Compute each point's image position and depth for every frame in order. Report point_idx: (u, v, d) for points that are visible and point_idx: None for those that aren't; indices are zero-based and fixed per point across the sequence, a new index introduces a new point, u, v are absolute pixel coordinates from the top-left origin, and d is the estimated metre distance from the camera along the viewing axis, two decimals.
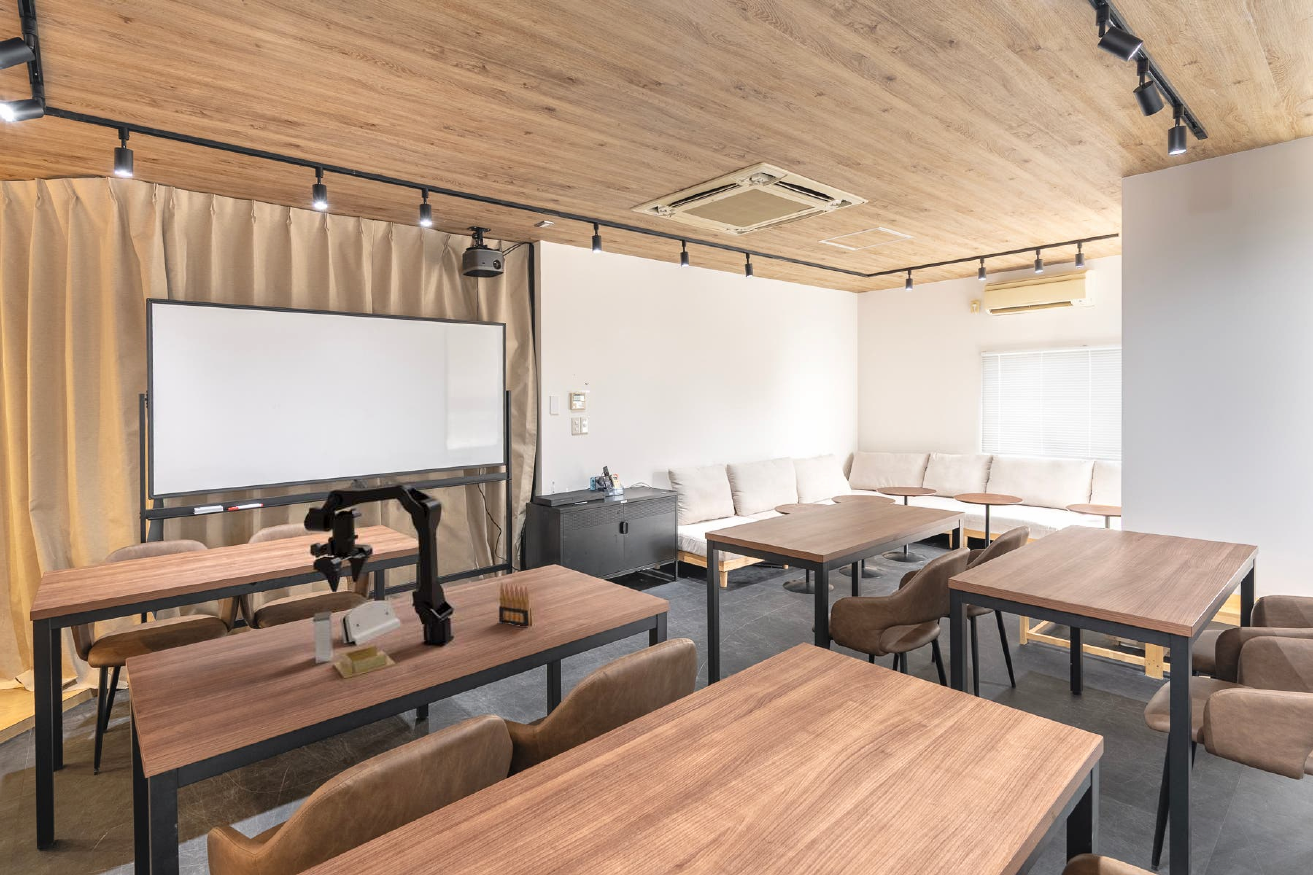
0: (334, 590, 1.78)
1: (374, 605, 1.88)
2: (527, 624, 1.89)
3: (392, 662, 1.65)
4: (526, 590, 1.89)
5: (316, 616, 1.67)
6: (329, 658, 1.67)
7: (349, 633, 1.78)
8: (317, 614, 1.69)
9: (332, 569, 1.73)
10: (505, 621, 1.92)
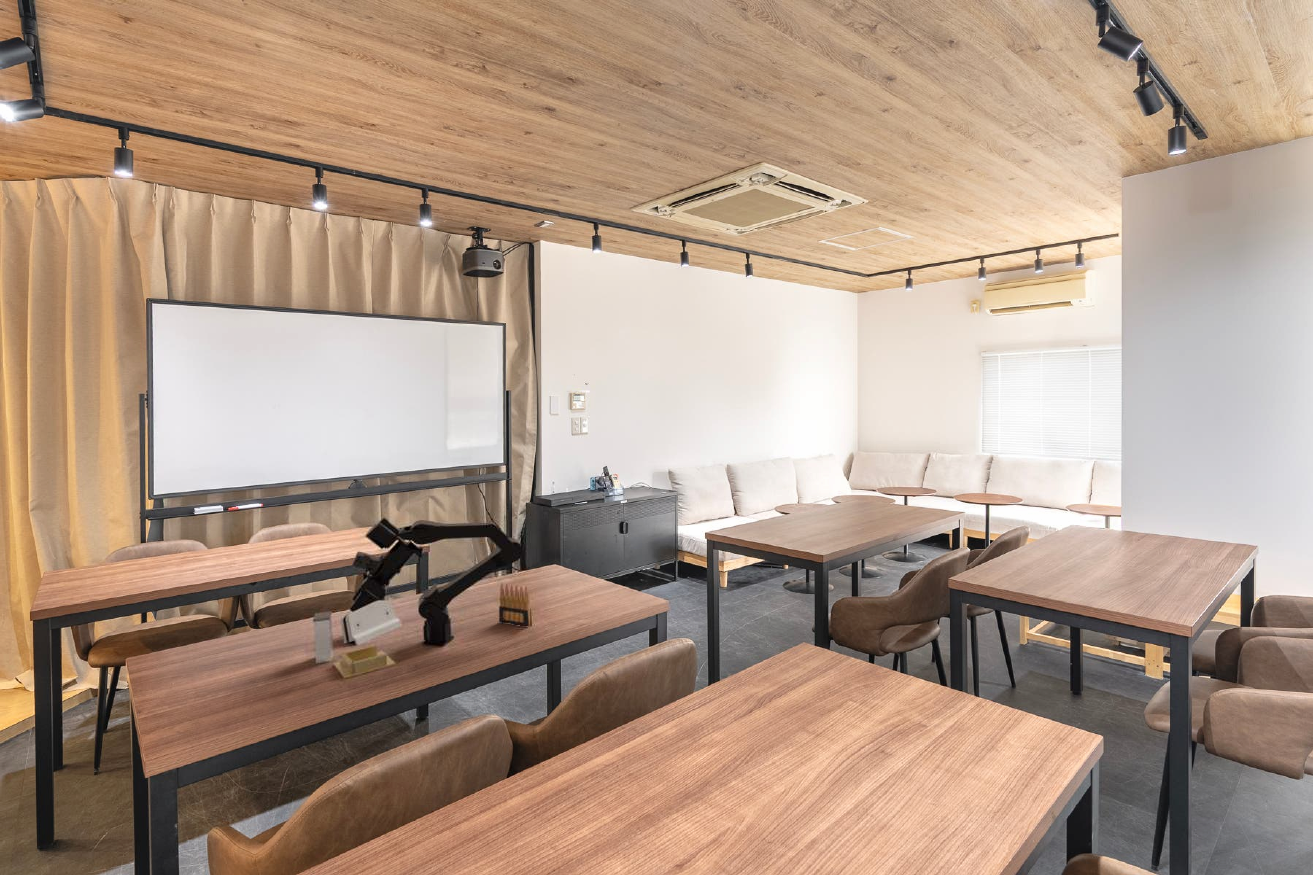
0: (353, 610, 1.66)
1: (374, 605, 1.88)
2: (527, 624, 1.89)
3: (392, 662, 1.65)
4: (526, 590, 1.89)
5: (316, 616, 1.67)
6: (329, 658, 1.67)
7: (349, 633, 1.79)
8: (317, 614, 1.69)
9: (381, 598, 1.65)
10: (505, 621, 1.92)
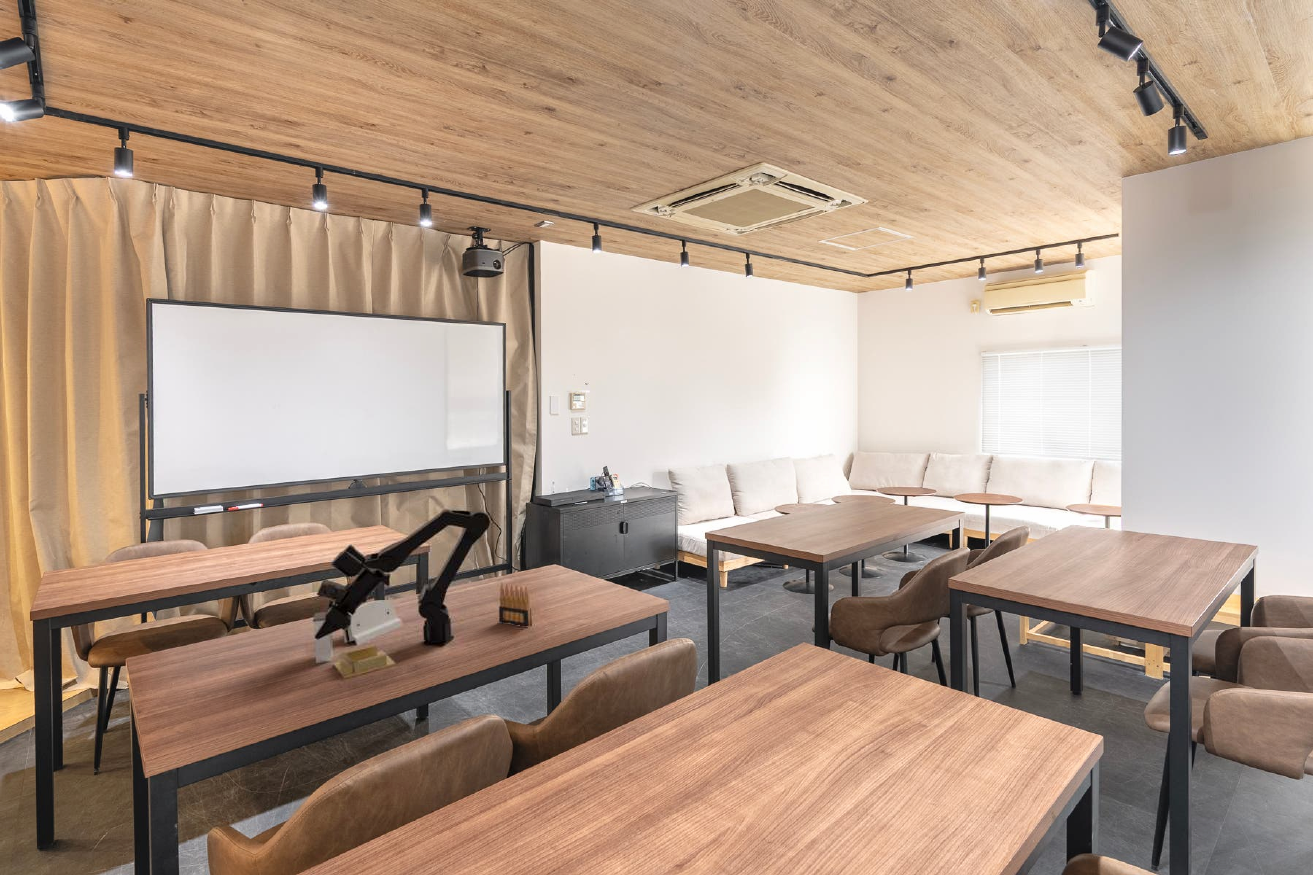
0: (318, 637, 1.65)
1: (375, 605, 1.88)
2: (527, 624, 1.89)
3: (392, 662, 1.65)
4: (526, 590, 1.89)
5: (316, 616, 1.67)
6: (329, 658, 1.67)
7: (350, 632, 1.79)
8: (317, 614, 1.69)
9: (345, 629, 1.62)
10: (505, 621, 1.92)
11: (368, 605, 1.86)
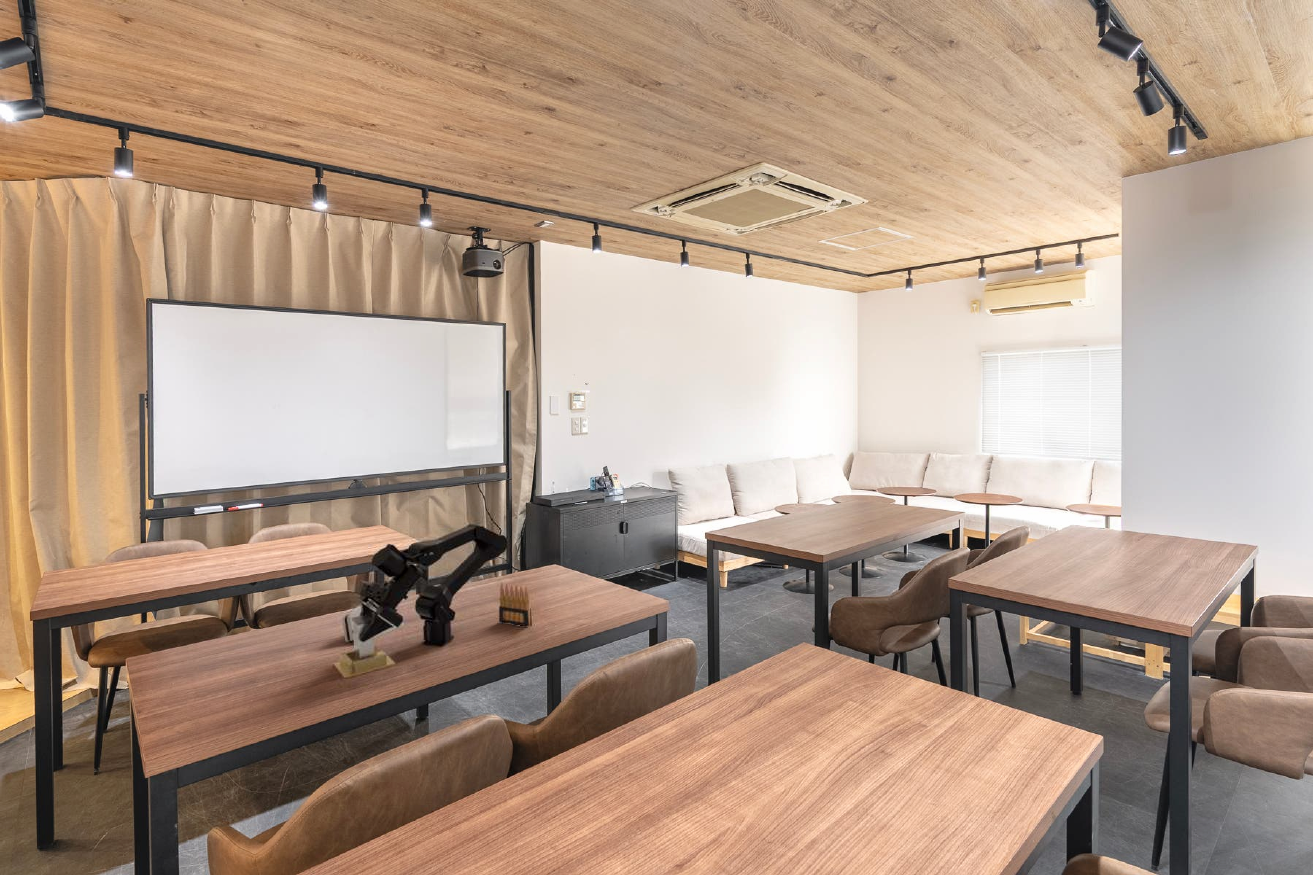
0: (364, 640, 1.60)
1: None
2: (527, 624, 1.89)
3: (392, 662, 1.65)
4: (526, 590, 1.89)
5: (357, 620, 1.63)
6: None
7: (350, 632, 1.79)
8: (355, 618, 1.64)
9: (398, 626, 1.61)
10: (505, 621, 1.92)
11: None
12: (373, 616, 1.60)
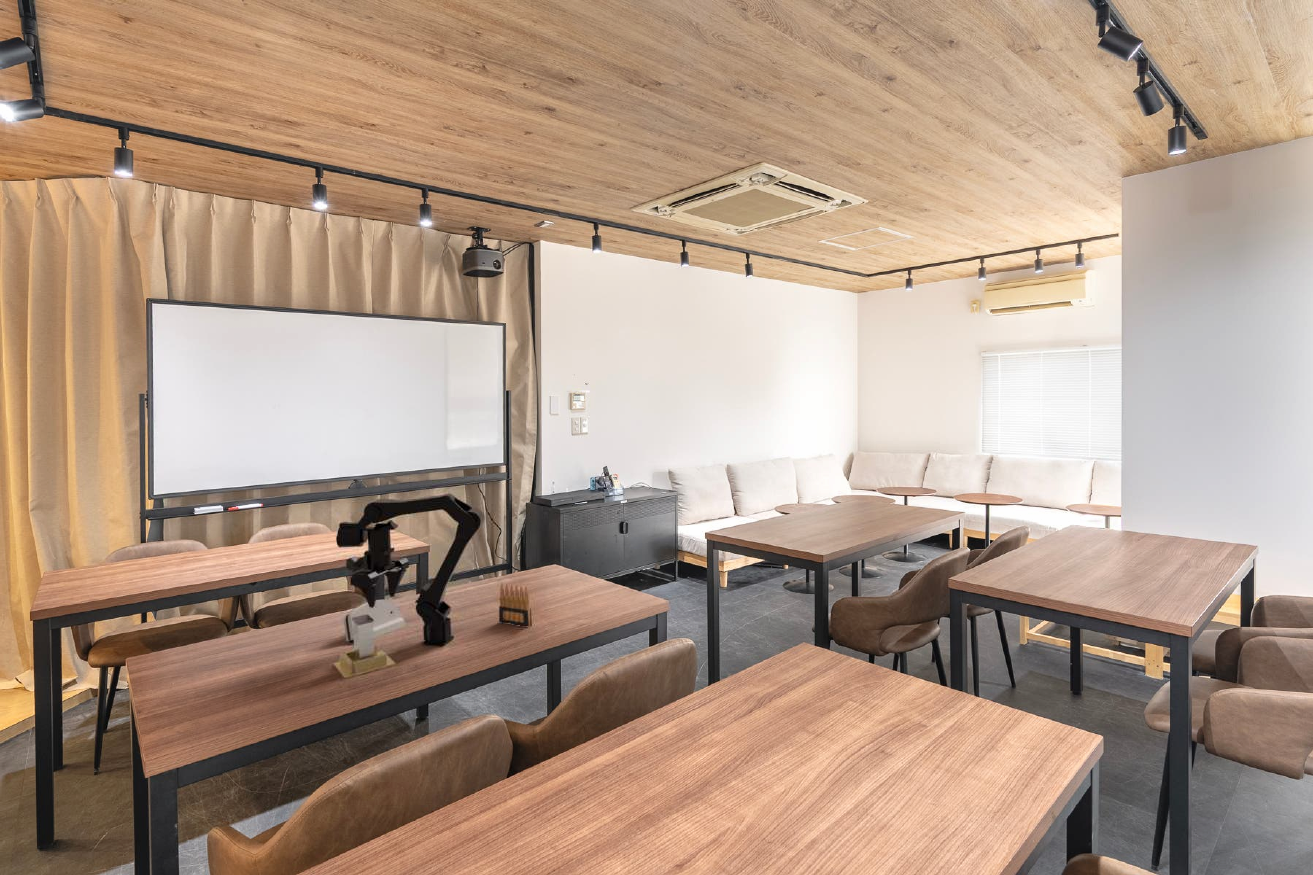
0: (371, 605, 1.72)
1: (378, 604, 1.88)
2: (527, 624, 1.89)
3: (392, 662, 1.65)
4: (526, 590, 1.89)
5: (357, 620, 1.63)
6: None
7: (351, 631, 1.80)
8: (355, 618, 1.64)
9: (369, 584, 1.67)
10: (505, 621, 1.92)
11: None
12: None
